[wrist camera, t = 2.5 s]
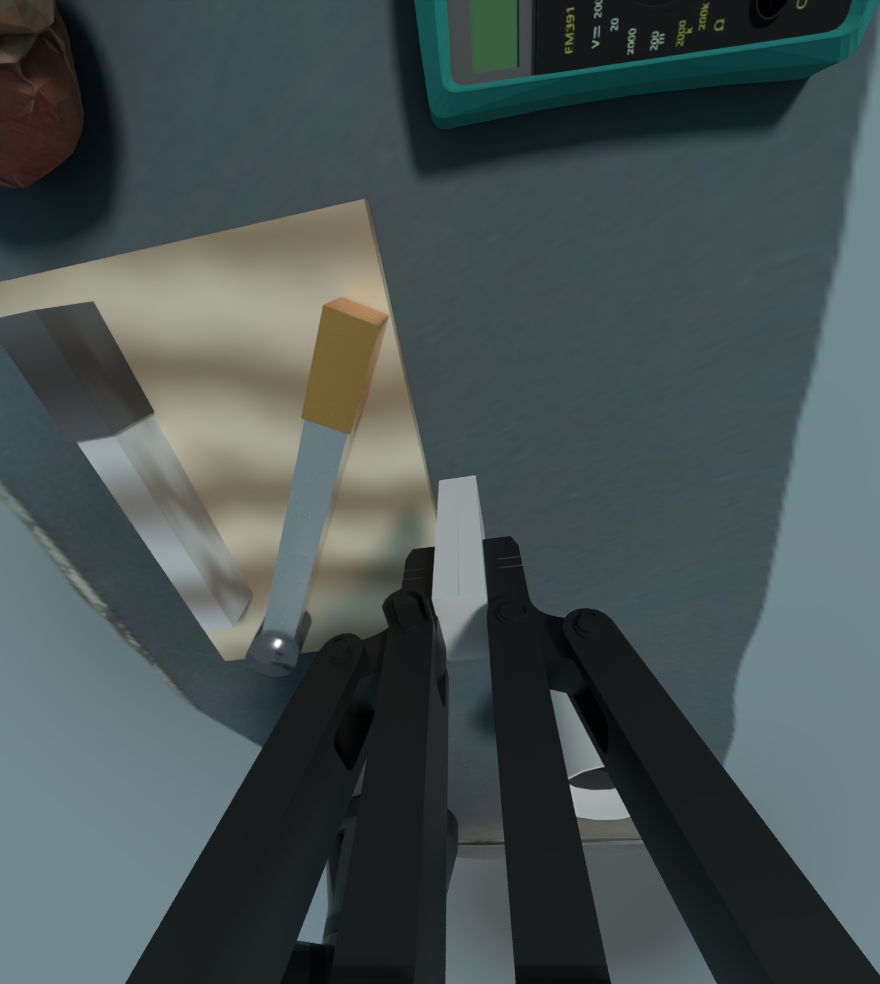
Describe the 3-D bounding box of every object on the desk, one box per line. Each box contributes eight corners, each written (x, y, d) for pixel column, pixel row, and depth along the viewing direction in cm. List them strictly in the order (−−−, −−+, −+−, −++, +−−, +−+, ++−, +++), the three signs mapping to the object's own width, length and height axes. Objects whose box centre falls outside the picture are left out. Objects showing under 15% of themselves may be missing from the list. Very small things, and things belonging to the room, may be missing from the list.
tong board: (461, 626, 31) (463, 675, 28) (230, 650, 34) (204, 698, 30) (368, 201, 18) (347, 190, 14) (-8, 286, 20) (-108, 295, 17)
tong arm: (307, 637, 31) (291, 681, 28) (264, 627, 30) (242, 670, 27) (398, 318, 19) (388, 332, 16) (331, 293, 19) (307, 302, 16)
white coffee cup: (510, 645, 33) (531, 788, 24) (584, 607, 30) (637, 750, 22) (556, 686, 35) (591, 829, 26) (628, 653, 33) (692, 798, 24)
